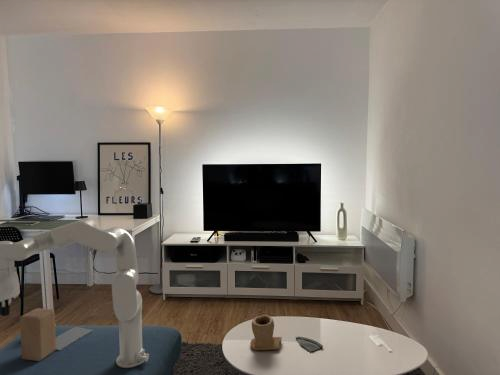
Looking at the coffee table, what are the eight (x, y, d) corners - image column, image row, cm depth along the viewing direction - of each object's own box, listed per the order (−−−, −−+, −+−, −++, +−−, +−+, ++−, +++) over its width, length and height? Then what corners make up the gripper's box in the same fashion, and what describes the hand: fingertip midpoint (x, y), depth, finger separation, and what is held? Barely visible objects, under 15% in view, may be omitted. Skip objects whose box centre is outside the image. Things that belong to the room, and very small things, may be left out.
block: (39, 362, 149) (37, 318, 148) (20, 359, 151) (18, 316, 150) (57, 350, 159) (55, 308, 158) (38, 348, 161) (37, 307, 160)
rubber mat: (93, 330, 178) (93, 330, 178) (59, 351, 158) (59, 349, 158) (75, 327, 182) (75, 326, 182) (40, 346, 162) (40, 345, 162)
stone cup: (250, 354, 154) (249, 322, 154) (250, 341, 166) (250, 311, 165) (283, 354, 154) (283, 322, 153) (281, 341, 166) (281, 311, 165)
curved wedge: (305, 336, 171) (305, 333, 171) (323, 349, 159) (323, 345, 159) (292, 341, 167) (292, 337, 167) (310, 354, 155) (310, 350, 155)
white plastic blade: (381, 353, 155) (381, 350, 155) (367, 337, 170) (367, 335, 170) (392, 352, 156) (392, 350, 156) (377, 336, 171) (377, 334, 171)
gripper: (-10, 278, 131) (-8, 324, 132) (27, 267, 145) (28, 309, 146) (-23, 275, 134) (-21, 321, 135) (14, 265, 148) (16, 306, 149)
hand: (4, 314), depth 140 cm, fingers closed
